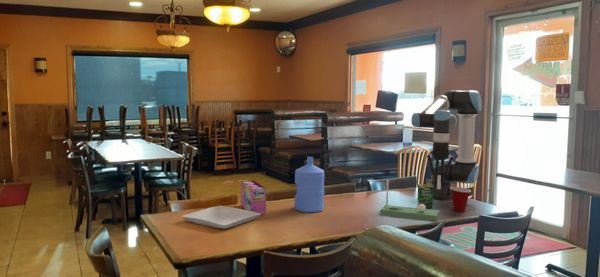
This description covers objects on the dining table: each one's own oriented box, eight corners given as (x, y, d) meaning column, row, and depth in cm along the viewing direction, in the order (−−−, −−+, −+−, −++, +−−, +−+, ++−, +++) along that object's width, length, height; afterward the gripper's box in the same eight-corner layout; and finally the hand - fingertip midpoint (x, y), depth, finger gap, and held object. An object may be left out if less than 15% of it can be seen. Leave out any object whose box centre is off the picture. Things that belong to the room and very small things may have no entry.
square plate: (225, 233, 207) (225, 224, 206) (180, 223, 221) (180, 215, 221) (261, 219, 230) (262, 212, 229) (219, 211, 244) (219, 204, 244)
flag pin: (386, 205, 253) (387, 179, 251) (387, 205, 252) (388, 179, 251) (384, 206, 249) (385, 180, 248) (386, 206, 249) (387, 180, 248)
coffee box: (418, 208, 257) (419, 184, 256) (416, 207, 260) (417, 183, 259) (432, 208, 257) (433, 185, 256) (431, 207, 260) (432, 184, 259)
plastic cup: (471, 213, 248) (472, 191, 247) (450, 212, 250) (451, 189, 249) (468, 208, 259) (469, 187, 258) (448, 207, 261) (449, 186, 260)
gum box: (239, 204, 258) (239, 180, 257) (253, 203, 261) (254, 179, 260) (251, 215, 236) (251, 188, 235) (266, 214, 239) (266, 188, 238)
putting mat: (385, 209, 254) (385, 204, 254) (439, 215, 243) (439, 210, 243) (380, 214, 243) (380, 209, 243) (436, 220, 232) (436, 215, 232)
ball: (418, 210, 242) (418, 202, 242) (426, 211, 241) (426, 203, 240) (416, 212, 238) (417, 204, 238) (425, 213, 237) (425, 205, 237)
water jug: (329, 209, 252) (330, 157, 249) (310, 214, 240) (311, 160, 238) (308, 204, 262) (308, 154, 260) (288, 209, 251) (289, 156, 248)
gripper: (426, 141, 232) (424, 188, 234) (454, 143, 227) (451, 191, 229) (428, 140, 239) (426, 186, 241) (455, 141, 234) (453, 188, 236)
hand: (438, 188), depth 235 cm, fingers closed
